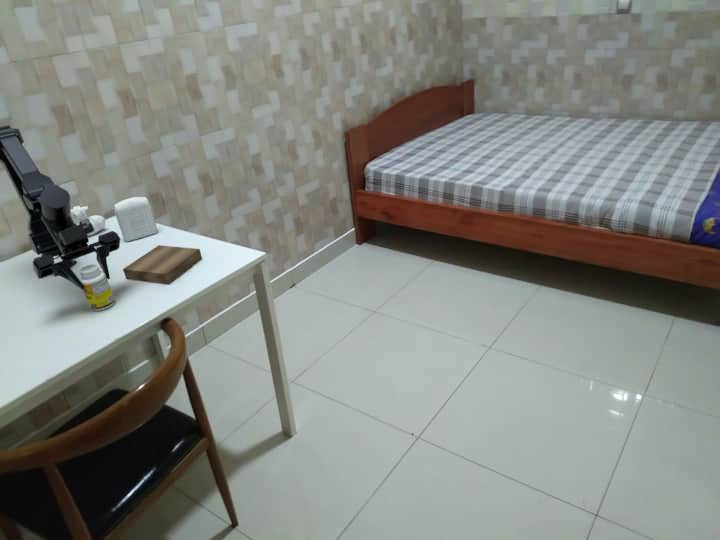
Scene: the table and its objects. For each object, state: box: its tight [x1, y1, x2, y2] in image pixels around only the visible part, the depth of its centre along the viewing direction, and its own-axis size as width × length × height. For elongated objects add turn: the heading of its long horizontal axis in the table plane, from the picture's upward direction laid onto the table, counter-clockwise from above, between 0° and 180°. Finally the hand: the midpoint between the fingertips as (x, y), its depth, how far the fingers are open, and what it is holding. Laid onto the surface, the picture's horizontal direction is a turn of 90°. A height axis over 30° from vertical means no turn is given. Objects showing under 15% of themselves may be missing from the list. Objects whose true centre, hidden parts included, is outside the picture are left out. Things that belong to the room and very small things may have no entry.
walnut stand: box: [122, 245, 203, 285], centre depth 137 cm, size 14×14×3 cm
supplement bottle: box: [79, 264, 116, 312], centre depth 121 cm, size 6×6×10 cm
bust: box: [70, 205, 106, 237], centre depth 162 cm, size 12×8×11 cm
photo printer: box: [113, 196, 159, 242], centre depth 156 cm, size 10×4×12 cm, turn 123°
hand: (96, 283), depth 119 cm, fingers closed on supplement bottle, 6 cm apart
